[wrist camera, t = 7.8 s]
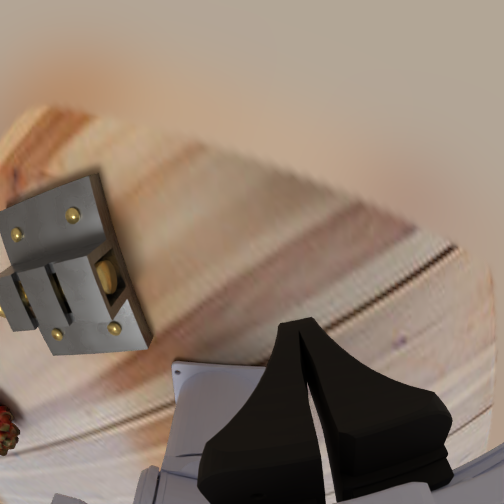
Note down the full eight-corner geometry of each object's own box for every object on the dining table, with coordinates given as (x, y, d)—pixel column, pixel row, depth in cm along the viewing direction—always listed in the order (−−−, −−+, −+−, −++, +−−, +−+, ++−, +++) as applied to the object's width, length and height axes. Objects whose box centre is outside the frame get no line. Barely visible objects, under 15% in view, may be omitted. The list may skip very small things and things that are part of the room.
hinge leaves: (152, 337, 24) (137, 374, 19) (60, 346, 24) (38, 375, 20) (98, 172, 19) (64, 182, 15) (5, 209, 20) (-30, 224, 15)
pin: (125, 288, 21) (108, 312, 18) (22, 305, 22) (1, 325, 19) (110, 244, 20) (89, 262, 17) (7, 270, 21) (-16, 287, 17)
